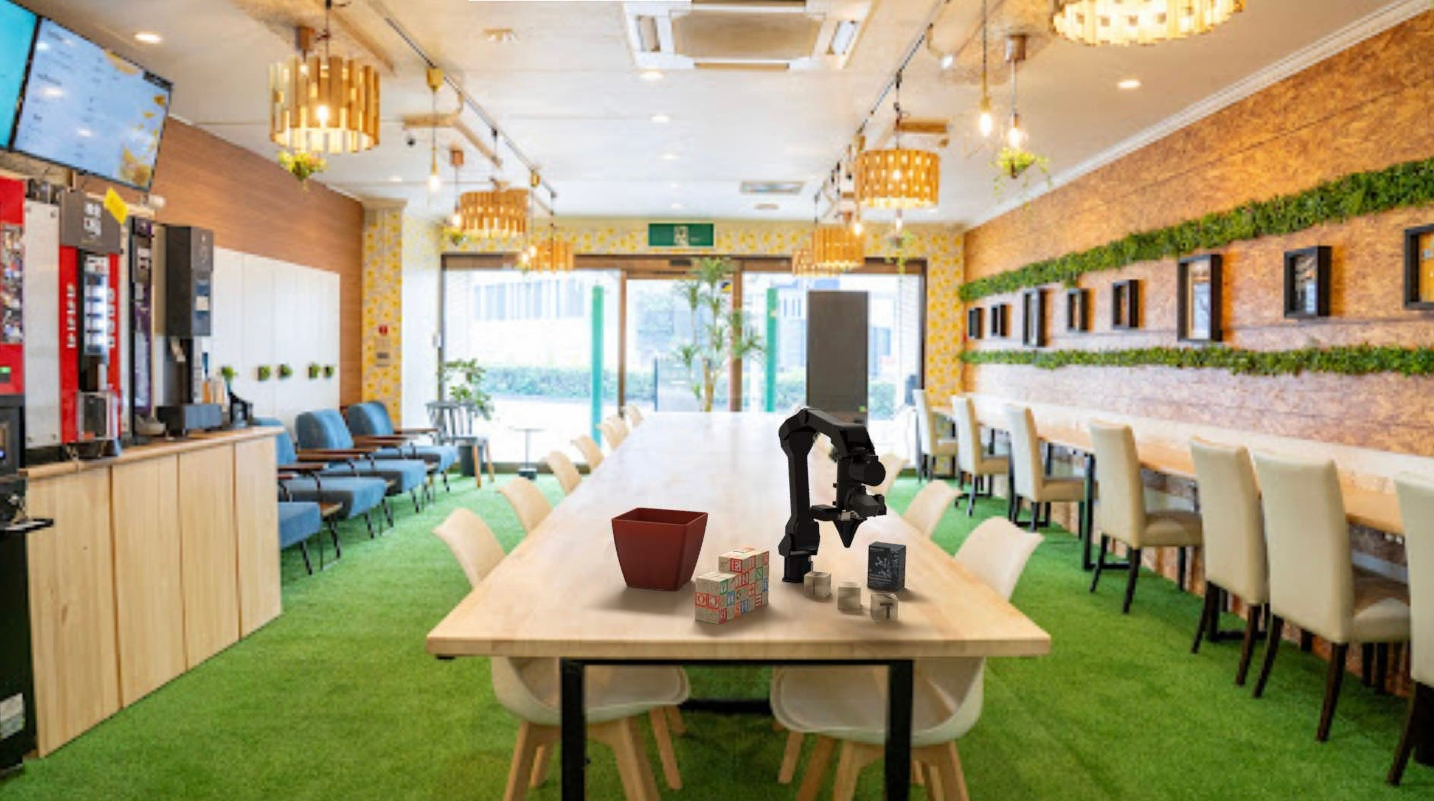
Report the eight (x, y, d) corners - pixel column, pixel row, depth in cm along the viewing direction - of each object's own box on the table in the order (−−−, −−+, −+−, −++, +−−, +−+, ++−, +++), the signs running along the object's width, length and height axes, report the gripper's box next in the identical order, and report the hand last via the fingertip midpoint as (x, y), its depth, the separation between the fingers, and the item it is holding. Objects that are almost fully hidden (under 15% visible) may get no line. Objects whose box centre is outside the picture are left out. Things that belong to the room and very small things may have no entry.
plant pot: (708, 577, 239) (709, 511, 238) (685, 596, 220) (686, 524, 219) (636, 571, 244) (637, 506, 243) (608, 589, 226) (609, 519, 225)
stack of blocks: (719, 625, 199) (720, 566, 198) (694, 620, 202) (694, 562, 201) (768, 602, 217) (769, 549, 216) (745, 598, 220) (746, 545, 219)
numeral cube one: (803, 596, 223) (803, 575, 222) (810, 591, 228) (811, 570, 227) (823, 598, 221) (824, 577, 220) (830, 593, 226) (831, 572, 225)
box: (866, 587, 231) (867, 544, 231) (874, 582, 236) (875, 540, 236) (897, 592, 227) (899, 548, 227) (905, 587, 232) (906, 544, 232)
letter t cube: (874, 622, 202) (874, 598, 202) (870, 615, 208) (870, 592, 207) (897, 622, 203) (898, 599, 202) (893, 615, 208) (893, 593, 207)
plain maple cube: (837, 608, 213) (837, 586, 212) (838, 602, 218) (838, 581, 217) (860, 610, 212) (860, 587, 212) (860, 604, 217) (861, 582, 216)
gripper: (840, 487, 204) (837, 559, 205) (904, 482, 214) (902, 550, 215) (808, 480, 213) (806, 549, 215) (871, 475, 223) (869, 541, 224)
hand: (847, 547), depth 217 cm, fingers closed
